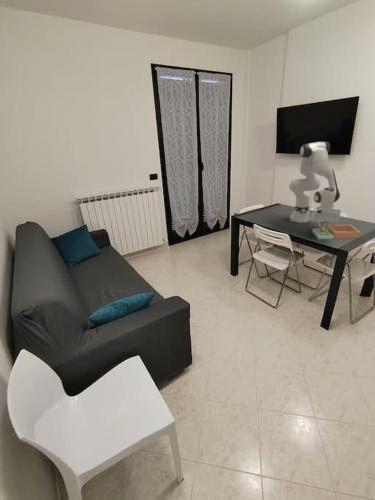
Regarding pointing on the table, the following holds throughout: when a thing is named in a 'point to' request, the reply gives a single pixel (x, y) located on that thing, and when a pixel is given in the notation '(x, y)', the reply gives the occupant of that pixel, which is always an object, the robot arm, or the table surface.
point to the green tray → (323, 234)
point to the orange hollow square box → (343, 231)
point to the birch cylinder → (323, 227)
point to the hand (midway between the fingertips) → (323, 226)
